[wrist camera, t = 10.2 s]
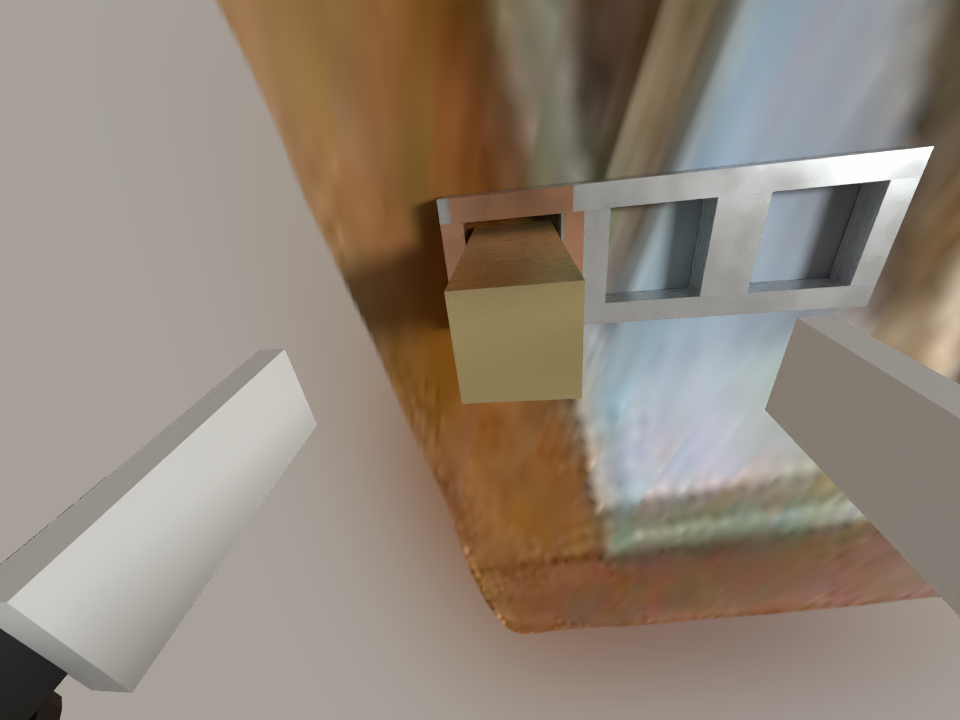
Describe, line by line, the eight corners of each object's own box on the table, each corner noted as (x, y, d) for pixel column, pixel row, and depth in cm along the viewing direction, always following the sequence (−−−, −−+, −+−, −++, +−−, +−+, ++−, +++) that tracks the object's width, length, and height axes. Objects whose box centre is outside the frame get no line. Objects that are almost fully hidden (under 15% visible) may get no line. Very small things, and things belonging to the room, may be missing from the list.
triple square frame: (441, 196, 22) (435, 200, 20) (902, 146, 19) (937, 146, 17) (459, 323, 25) (455, 334, 24) (844, 296, 23) (869, 307, 21)
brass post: (475, 226, 22) (444, 291, 12) (549, 218, 22) (585, 280, 11) (482, 296, 24) (461, 403, 14) (550, 290, 24) (581, 398, 13)
